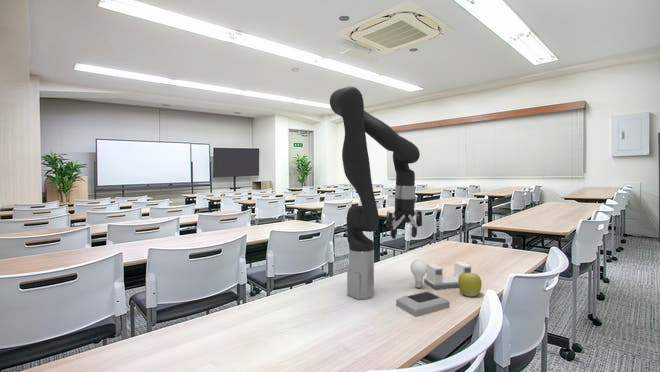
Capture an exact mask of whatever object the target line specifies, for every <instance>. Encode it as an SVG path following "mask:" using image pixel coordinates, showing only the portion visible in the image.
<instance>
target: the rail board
mask: <svg viewBox="0 0 660 372" xmlns="http://www.w3.org/2000/svg"><path fill="white" fill-rule="evenodd" d="M423 283H424V284H426V285H427V286H428V287H429V288H431V289H433V290H434V291H436V290H437V291H438V290H447V289H448V290H450V289H460V288H459V284H458V278H456V277H454V275H453V276H443V279H442V283H438V284H434V283H432V282H431V281H430V280H428V279H427V278H423Z"/></svg>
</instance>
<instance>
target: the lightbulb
mask: <svg viewBox="0 0 660 372" xmlns="http://www.w3.org/2000/svg"><path fill="white" fill-rule="evenodd" d="M426 265H427V263H425V261H424V260H422V259H415V260H413V261H412V262H411V264H410V266H409V267H410V272H411V273H412V275H413V278H414V286H415V287H416V288H418V289H420V288H422V287H423V281H424V277H425V276H426V272H427V266H426Z"/></svg>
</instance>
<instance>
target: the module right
mask: <svg viewBox="0 0 660 372" xmlns="http://www.w3.org/2000/svg"><path fill="white" fill-rule="evenodd" d="M453 265H454V266H453V269H454V270H453V276H454V277H456V278H459V276H460V274H462V273H472V265H471V264H468V263H465V262H463V261H454V264H453Z"/></svg>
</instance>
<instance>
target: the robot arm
mask: <svg viewBox="0 0 660 372" xmlns="http://www.w3.org/2000/svg"><path fill="white" fill-rule="evenodd" d="M329 107H330V109H331V111H333V112H334V113H335V114H336V115H338V116H339V117H341V118H342V122H343V128H344V129H343V130H344V139H343V144H342V150H341V158H342V160H341V161H342V164H343V165H342V166H343V172H344V174H345V175H344V176H345V177H346V179H347V181H348V182H349V184H350V185H351V186H352V188H353V189H354V190H355V192H356V193H357V194H358V196H359V200H360V202H361V205H352V206H350V207H349V208H348V210H347V213H346V236H347V237H346V238H347V243H348V269H347V271H346V279H347V280H346V283H347V285H346V286H347V287H346V295H347V296H349V297H352V298H354V299H356V300H359V301H360V300H366V299H367V300H368V299H371V298H373V297H374V296H375V279H374V277H375V243H374V241H373V240H372V239H370V238H369V237H368V236H366V235H365V233H364V232H367V233H373V232H376V230H377V229H378V227H379V223H380V222H379V221H380V219H379V209H378V206H377V201H376V197H375V193H374V188H373V180H372V174H371V164H370V157H369V151H368V143H367V136H366V135H368V136H369V137H371V139H373V140H374V141H375V142H377V144H378V145H380V146H381V147H383V148H384V149H385V150H386V151H388V152H392V162H393V167H394V172H395V189H394V212H390V211H387V212H386V217H385V227H386V228H388V229H390V237H391V239H393V240H396V236H397V227H398V226H399V225H400V224H404V223H406V224H408V223H410V225H411V237H412V238H416V237H417V235H418V228H419V227H422V226H423V212H422V211H421V210H415V203H416V202H415V201H416V188H415V184H416V183H415V181H416V174H415V171H414V170H412V169H411V168H410V166H409V164H411V165H412V164H415V163H417V162H418V161H419V159H420V155H421V153H420V150H419V147H418V146H417V145H415V144H414V143H413V142H411V141H410V140H408V139H407V138H405V137H403V136H401V135H400V134H399V133H397V132H396V130H394V129H393V128H392V127H391V126H390V125H389V124H387V123H386V122H384V121H383V120H380V119H379V118H378V117H375V116H373V115H372V114H370V113H368V112H367V111H366V110H365V104H364V97H363V95H362V92H361V91H360V90H359V89H358V88H357V87H355V86H347V87H342V88H339V89H336V90H335V91H333V92H332V93H331V95H330V97H329ZM414 217H415V219H414ZM393 218H394V219H393Z"/></svg>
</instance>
